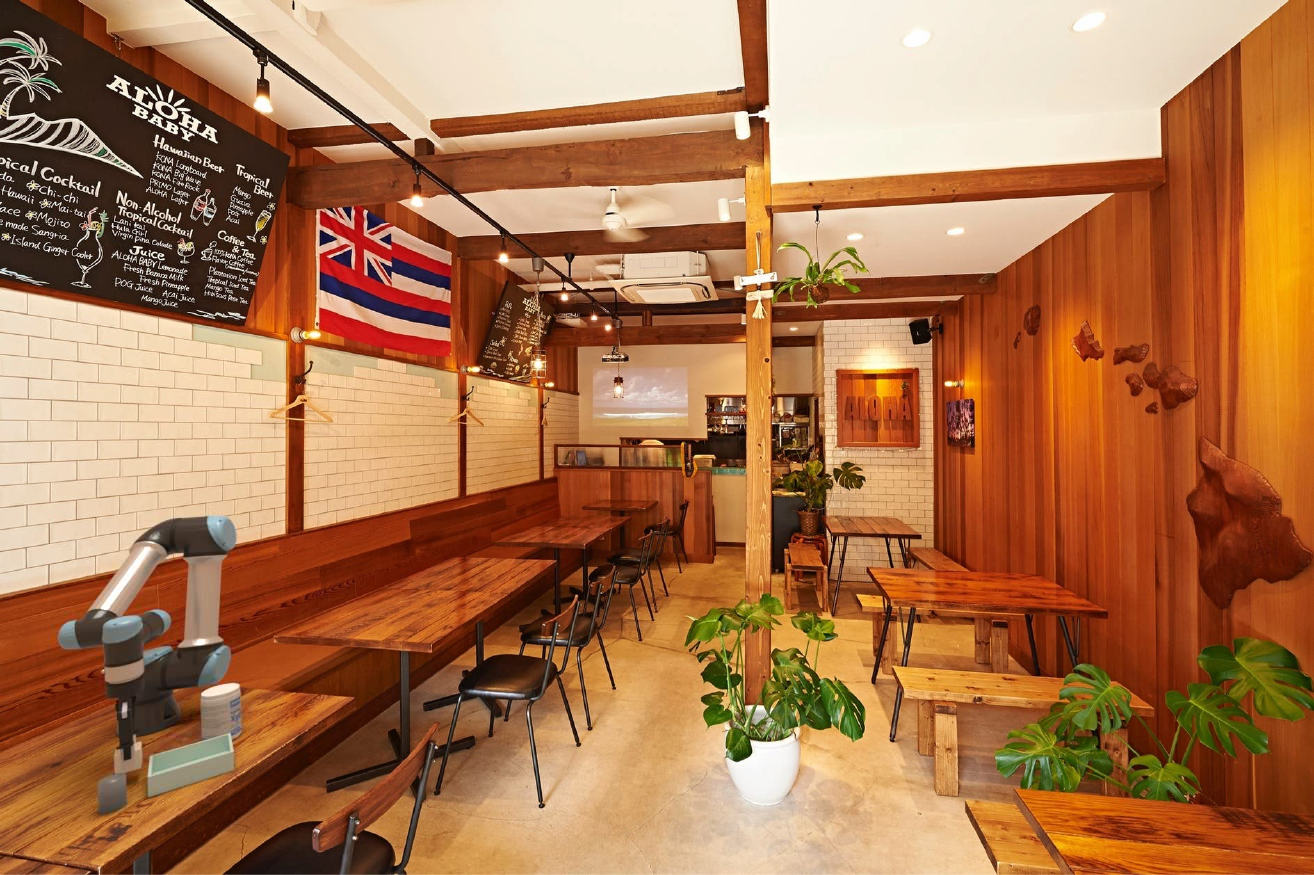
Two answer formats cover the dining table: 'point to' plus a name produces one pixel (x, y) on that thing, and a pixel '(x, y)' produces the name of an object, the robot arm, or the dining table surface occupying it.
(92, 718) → the dining table surface
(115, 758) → the tan cube
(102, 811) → the charcoal cylinder
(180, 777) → the teal tote
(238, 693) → the supplement tub
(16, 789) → the dining table surface
